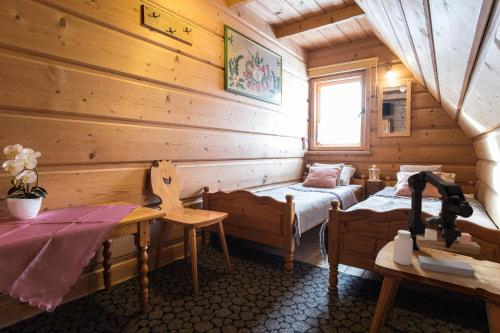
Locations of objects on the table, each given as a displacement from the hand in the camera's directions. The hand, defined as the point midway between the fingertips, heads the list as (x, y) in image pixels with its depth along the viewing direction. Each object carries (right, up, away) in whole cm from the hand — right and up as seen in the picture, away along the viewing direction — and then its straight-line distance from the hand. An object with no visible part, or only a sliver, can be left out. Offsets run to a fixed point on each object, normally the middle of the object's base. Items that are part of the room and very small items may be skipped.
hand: (446, 245), depth 128 cm
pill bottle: (-16, -10, +8) cm, 20 cm away
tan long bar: (0, -1, 0) cm, 1 cm away
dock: (0, -11, +1) cm, 11 cm away
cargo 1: (-6, +2, +2) cm, 7 cm away
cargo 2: (+6, +2, -3) cm, 7 cm away
